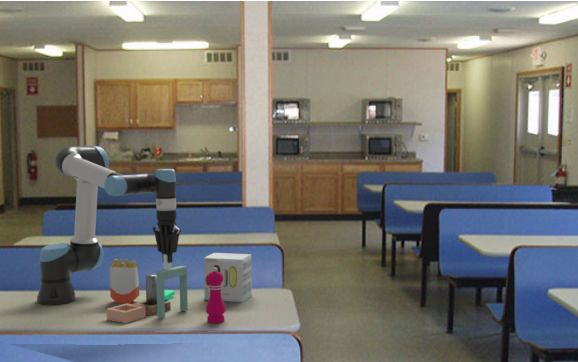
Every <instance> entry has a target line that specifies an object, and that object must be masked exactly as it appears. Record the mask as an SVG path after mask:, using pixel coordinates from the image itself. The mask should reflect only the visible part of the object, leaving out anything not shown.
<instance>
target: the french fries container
mask: <svg viewBox="0 0 578 362" xmlns="http://www.w3.org/2000/svg"><path fill="white" fill-rule="evenodd" d="M124 261H125V263H124V262H122V259H121V258H120V259H118V258H114V259H113V264H110V266H109V283H110V284H109V289H110V290H109V291H110V294H109V295H110V298H111V299H112V300H113V301H114V302H115V303H116V304H126V303H127V304H131V303H133V301H135V300H136V299H137V298H138V297H139V296H140V281H139V280H140V279H139V271H138V264H136V263H137V261H136V260H132V261H129V259H125V260H124Z"/></svg>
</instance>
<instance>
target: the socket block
mask: <svg viewBox="0 0 578 362" xmlns="http://www.w3.org/2000/svg"><path fill="white" fill-rule="evenodd" d="M133 305H138V306H143V307H145V315H148V314H149V316H154V314H155V315H157V305H153V306H150V305H146V300H143V301H140V302H136V303H133ZM171 308H172V307H171V301H165V312H166V311H168V312H169V311H171Z"/></svg>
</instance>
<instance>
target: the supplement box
mask: <svg viewBox="0 0 578 362" xmlns="http://www.w3.org/2000/svg"><path fill="white" fill-rule="evenodd" d="M203 260H204V261H203V262H204V263H203V267H204V269H203V278H204V279H203V280H204V284H203V285H204V287H203V288H204V290H203V291H204V296H203V297H204V298H203V299H204V301H209V298H210V289H209V283H208V281H207V276H208V274H209V273H210V272H213V268H214V267H216V268H217V269H218V270H217V271H218V272H220V273H222V275H223V278H224V279H223V282H222V283H221V284H222V289H221V297H222V300H223V302H231V303H232V302H233V303H244V302H246V300H248V299H250V297H252V296H253V284H252V282H253V281H252V280H253V279H252V272H253V271H252V254H251V253H250V254H249V253H235V252H233V253H231V252H229V253H228V252H227V253H226V252H213V253H211V254H209V255H207V256H205V257H204V258H203Z"/></svg>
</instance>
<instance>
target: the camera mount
mask: <svg viewBox="0 0 578 362" xmlns="http://www.w3.org/2000/svg"><path fill="white" fill-rule="evenodd" d="M164 292H165V300H166V301H167V302H169V299H170V300H172V298H173V296H174V295H175V290H171V289H169V290H168V289H164Z"/></svg>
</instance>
